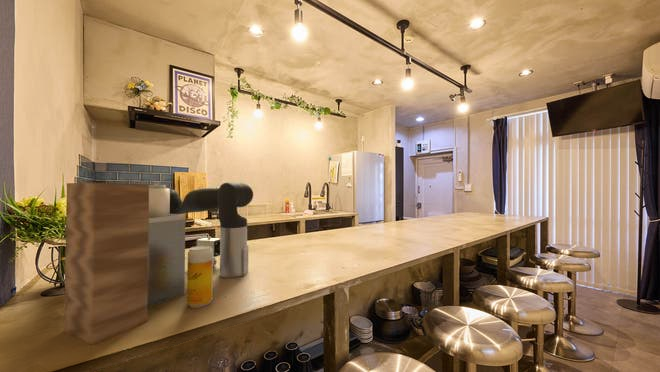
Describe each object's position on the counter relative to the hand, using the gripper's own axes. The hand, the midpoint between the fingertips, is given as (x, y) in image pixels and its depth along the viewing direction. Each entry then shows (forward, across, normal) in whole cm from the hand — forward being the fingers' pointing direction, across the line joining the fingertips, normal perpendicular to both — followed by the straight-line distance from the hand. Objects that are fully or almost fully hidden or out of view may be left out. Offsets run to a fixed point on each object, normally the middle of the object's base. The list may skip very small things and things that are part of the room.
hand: (138, 204), depth 76 cm
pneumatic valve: (-15, -27, -22) cm, 38 cm away
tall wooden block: (0, +14, -30) cm, 33 cm away
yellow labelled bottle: (+7, -3, -34) cm, 35 cm away
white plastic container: (0, 0, -5) cm, 5 cm away
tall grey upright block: (-5, 0, -27) cm, 28 cm away
